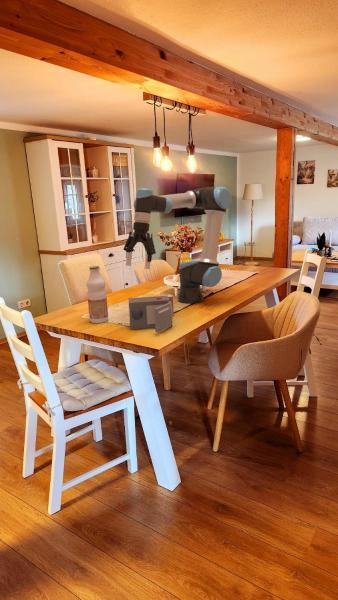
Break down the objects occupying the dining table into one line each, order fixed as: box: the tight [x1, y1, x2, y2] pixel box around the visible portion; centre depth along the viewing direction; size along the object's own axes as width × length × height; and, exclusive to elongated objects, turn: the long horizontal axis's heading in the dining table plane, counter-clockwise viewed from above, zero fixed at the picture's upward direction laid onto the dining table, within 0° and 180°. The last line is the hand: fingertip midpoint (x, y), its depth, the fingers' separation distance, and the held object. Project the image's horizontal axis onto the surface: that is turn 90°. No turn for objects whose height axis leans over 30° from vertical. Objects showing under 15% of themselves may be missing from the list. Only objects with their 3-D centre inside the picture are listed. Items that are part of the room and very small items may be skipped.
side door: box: [154, 301, 173, 334], centre depth 182 cm, size 12×1×12 cm, turn 147°
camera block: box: [128, 295, 170, 331], centre depth 190 cm, size 19×10×14 cm, turn 97°
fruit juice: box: [86, 265, 109, 324], centre depth 199 cm, size 9×9×28 cm
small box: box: [155, 294, 175, 317], centre depth 206 cm, size 8×6×10 cm
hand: (137, 267), depth 190 cm, fingers open, 13 cm apart
